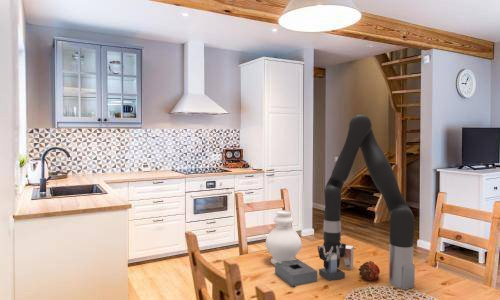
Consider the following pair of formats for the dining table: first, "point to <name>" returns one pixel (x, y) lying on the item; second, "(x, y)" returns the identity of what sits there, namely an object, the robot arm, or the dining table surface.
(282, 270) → the port
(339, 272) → the holster
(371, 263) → the dragon fruit
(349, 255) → the small box
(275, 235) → the decorative vase
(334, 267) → the plug
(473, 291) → the dining table surface
